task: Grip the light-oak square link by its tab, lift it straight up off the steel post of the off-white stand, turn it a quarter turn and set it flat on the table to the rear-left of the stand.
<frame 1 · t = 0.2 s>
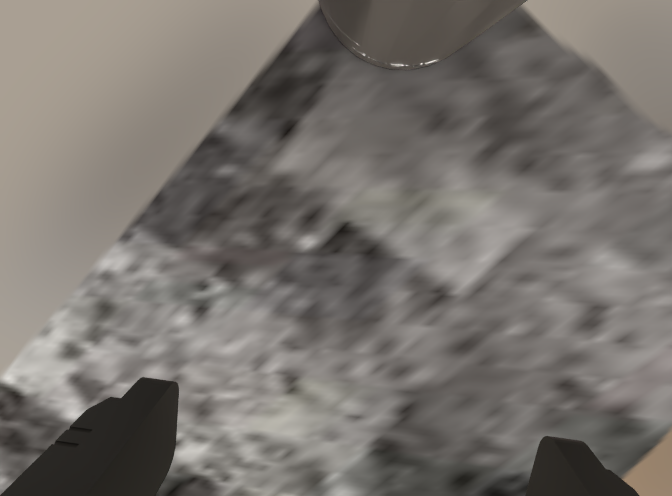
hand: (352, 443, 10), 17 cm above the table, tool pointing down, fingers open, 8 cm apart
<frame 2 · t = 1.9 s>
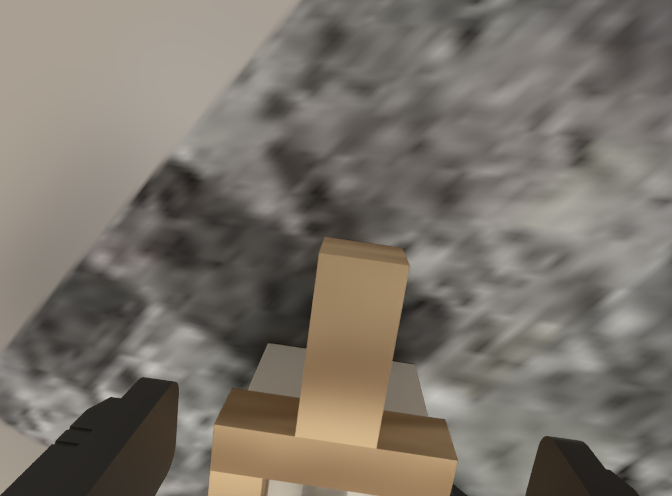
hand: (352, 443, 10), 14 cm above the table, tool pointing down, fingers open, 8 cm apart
ring stand: (331, 418, 25), on the table
oak link: (324, 493, 20), point 5 cm above the table, touching ring stand
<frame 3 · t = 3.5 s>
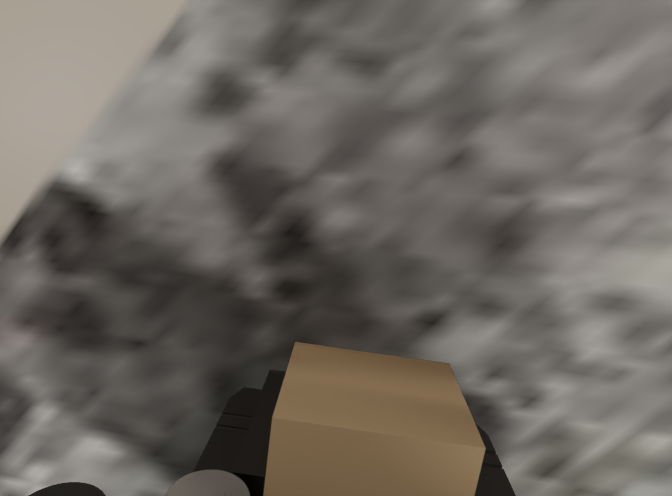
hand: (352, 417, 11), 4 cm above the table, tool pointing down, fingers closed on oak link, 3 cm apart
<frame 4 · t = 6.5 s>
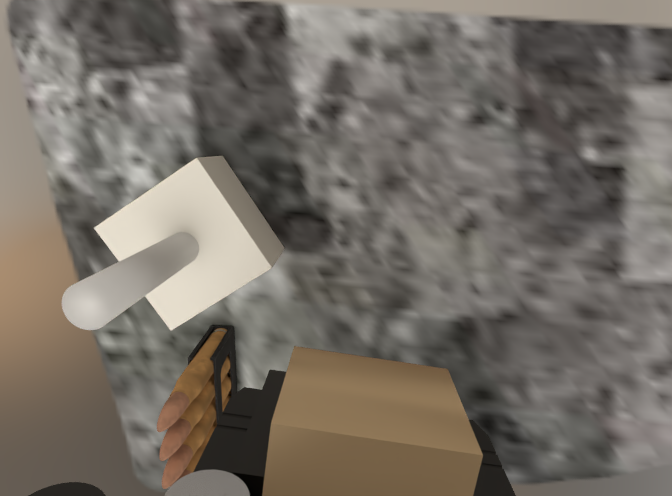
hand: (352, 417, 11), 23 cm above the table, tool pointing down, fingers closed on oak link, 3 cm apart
ammunition clip: (226, 386, 37), on the table
ring stand: (210, 231, 34), on the table
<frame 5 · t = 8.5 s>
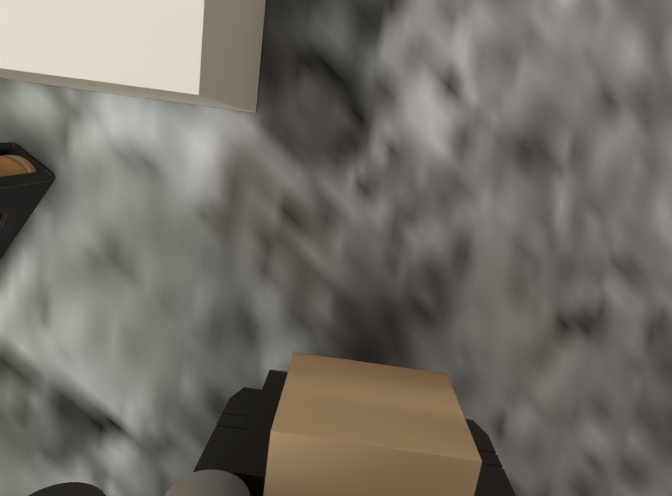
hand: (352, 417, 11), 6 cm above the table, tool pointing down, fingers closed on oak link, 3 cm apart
when the fingers open (1 cm above the table, at t = 9.9 s): oak link drops 2 cm, on the table.
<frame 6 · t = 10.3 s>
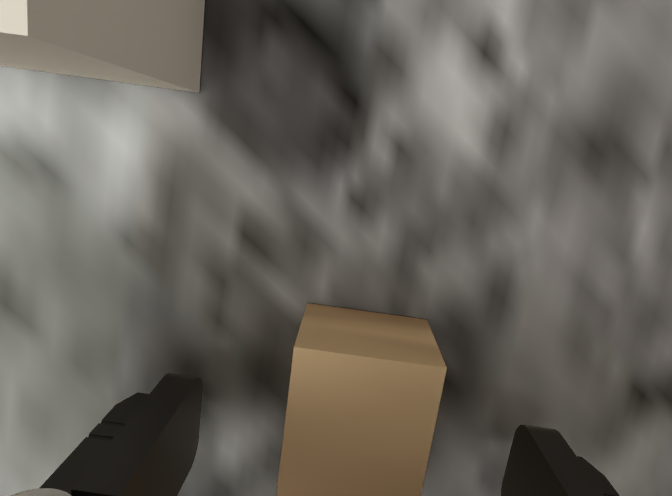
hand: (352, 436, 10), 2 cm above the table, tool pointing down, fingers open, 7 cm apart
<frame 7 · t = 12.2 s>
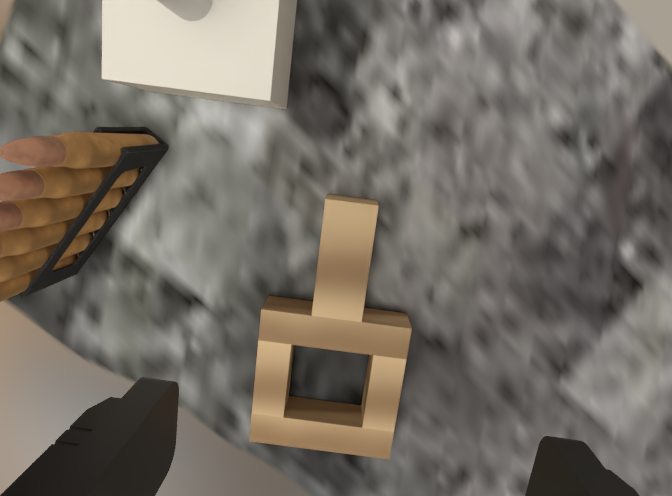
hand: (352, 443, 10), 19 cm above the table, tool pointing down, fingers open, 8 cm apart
ammunition clip: (110, 203, 29), on the table
ring stand: (223, 27, 26), on the table
oak link: (329, 367, 30), on the table
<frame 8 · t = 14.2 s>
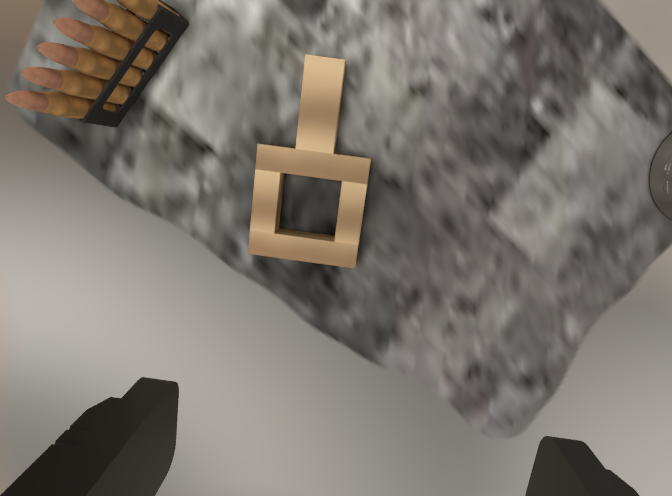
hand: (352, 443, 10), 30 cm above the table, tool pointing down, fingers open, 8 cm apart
ammunition clip: (144, 69, 37), on the table
oak link: (310, 203, 39), on the table
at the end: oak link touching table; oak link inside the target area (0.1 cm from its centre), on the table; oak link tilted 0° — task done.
